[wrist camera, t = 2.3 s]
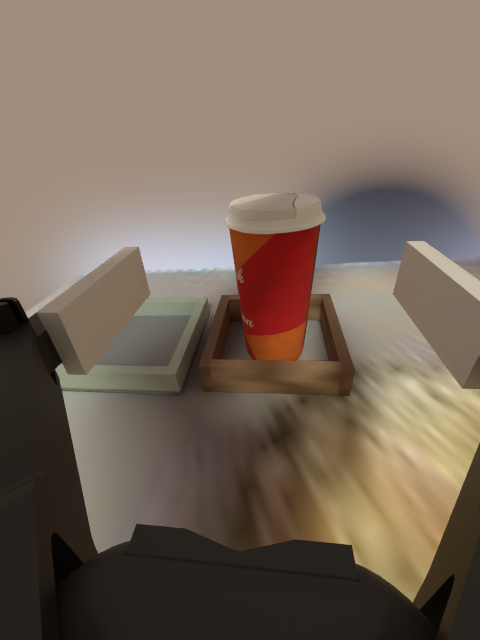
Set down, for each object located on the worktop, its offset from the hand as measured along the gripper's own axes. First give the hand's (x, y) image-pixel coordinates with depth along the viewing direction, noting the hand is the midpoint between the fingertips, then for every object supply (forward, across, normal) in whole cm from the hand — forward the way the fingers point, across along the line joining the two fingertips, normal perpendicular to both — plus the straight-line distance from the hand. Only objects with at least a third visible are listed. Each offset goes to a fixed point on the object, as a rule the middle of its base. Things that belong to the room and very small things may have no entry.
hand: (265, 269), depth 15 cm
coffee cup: (+11, 0, -14) cm, 18 cm away
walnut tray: (+11, 0, -14) cm, 18 cm away
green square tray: (+11, -15, -14) cm, 23 cm away
